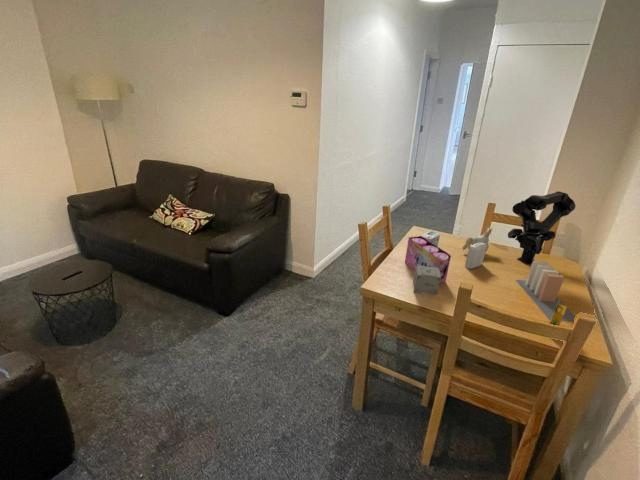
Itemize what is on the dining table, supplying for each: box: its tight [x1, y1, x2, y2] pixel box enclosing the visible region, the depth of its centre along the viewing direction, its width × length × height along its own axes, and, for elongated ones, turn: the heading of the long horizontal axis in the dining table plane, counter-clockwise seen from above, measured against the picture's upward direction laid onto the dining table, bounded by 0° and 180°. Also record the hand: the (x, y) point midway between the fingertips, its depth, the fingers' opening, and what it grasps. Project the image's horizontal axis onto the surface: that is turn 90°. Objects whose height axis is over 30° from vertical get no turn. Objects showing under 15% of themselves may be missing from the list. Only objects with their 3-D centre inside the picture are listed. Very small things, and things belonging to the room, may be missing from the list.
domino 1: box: [525, 260, 550, 286], centre depth 151 cm, size 2×6×12 cm, turn 85°
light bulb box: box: [419, 230, 441, 247], centre depth 178 cm, size 11×7×11 cm, turn 135°
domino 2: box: [529, 265, 555, 291], centre depth 147 cm, size 2×6×12 cm, turn 85°
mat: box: [515, 279, 576, 323], centre depth 143 cm, size 30×12×1 cm, turn 175°
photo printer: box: [464, 243, 487, 270], centre depth 167 cm, size 10×4×12 cm, turn 123°
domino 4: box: [538, 274, 565, 302], centre depth 140 cm, size 2×6×12 cm, turn 85°
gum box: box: [404, 235, 452, 284], centre depth 158 cm, size 24×8×14 cm, turn 20°
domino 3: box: [534, 269, 560, 296], centre depth 143 cm, size 2×6×12 cm, turn 85°
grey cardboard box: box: [412, 265, 441, 295], centre depth 144 cm, size 10×8×10 cm
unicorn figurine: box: [462, 224, 493, 254], centre depth 181 cm, size 7×20×13 cm, turn 122°
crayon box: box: [548, 299, 568, 327], centre depth 122 cm, size 7×3×12 cm, turn 138°
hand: (533, 251), depth 155 cm, fingers open, 5 cm apart
